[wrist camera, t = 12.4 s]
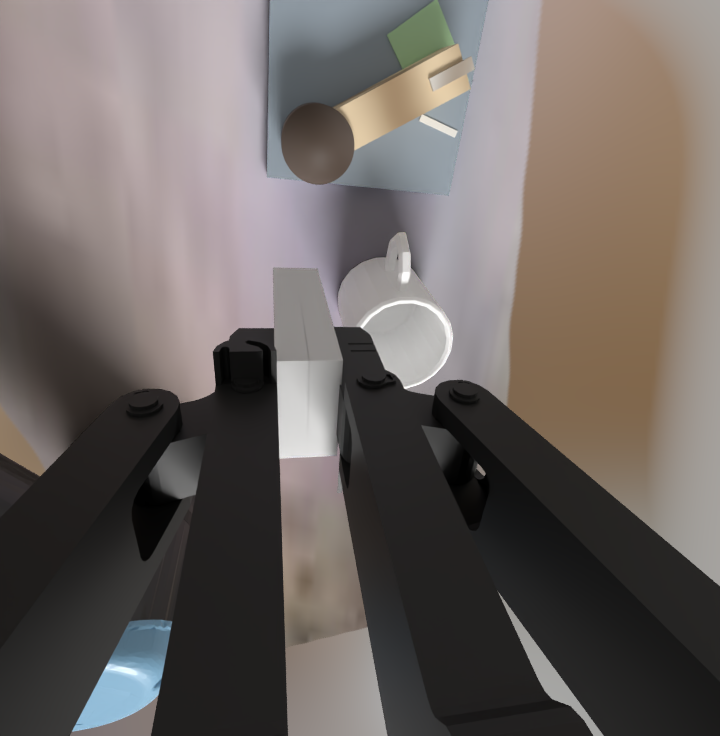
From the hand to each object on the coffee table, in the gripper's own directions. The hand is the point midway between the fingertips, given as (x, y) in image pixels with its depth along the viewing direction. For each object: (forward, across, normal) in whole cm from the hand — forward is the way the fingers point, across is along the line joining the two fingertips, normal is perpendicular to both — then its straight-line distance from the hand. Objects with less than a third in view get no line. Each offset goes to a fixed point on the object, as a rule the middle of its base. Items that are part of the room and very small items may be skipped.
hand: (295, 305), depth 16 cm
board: (+25, +7, +9) cm, 27 cm away
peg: (+23, +6, +6) cm, 25 cm away
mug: (+25, +9, -7) cm, 28 cm away
